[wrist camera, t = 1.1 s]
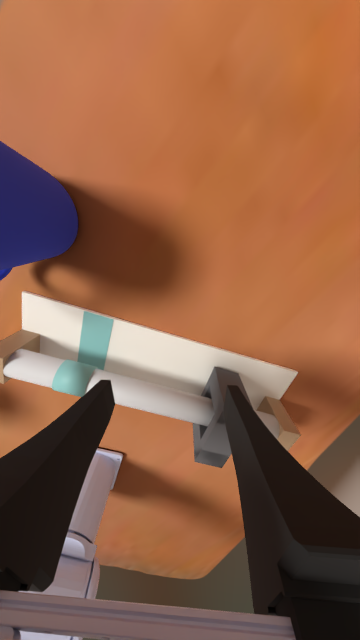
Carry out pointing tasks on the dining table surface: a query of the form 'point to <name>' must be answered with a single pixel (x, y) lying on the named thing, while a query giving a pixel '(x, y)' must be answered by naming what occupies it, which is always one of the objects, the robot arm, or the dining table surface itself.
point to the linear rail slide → (136, 365)
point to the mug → (32, 213)
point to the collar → (216, 420)
